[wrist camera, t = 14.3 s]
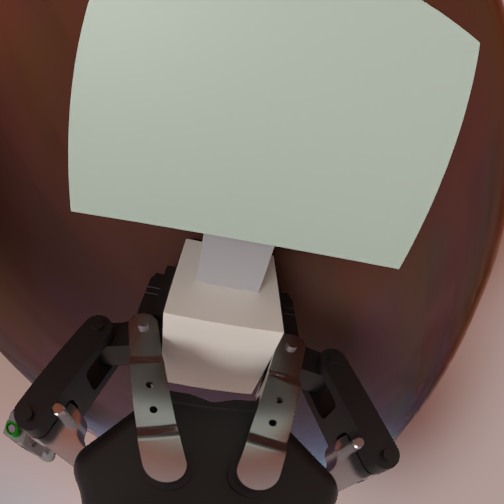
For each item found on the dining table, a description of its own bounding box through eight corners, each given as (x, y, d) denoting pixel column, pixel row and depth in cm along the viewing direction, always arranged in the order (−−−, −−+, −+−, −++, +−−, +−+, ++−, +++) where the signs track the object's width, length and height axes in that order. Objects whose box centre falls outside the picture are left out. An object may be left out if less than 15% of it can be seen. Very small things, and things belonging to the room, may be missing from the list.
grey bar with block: (238, 5, 8) (232, -43, 4) (344, 36, 8) (404, 14, 4) (176, 322, 17) (162, 391, 13) (245, 334, 18) (245, 403, 13)
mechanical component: (55, 397, 27) (36, 457, 19) (29, 355, 22) (-2, 429, 13) (73, 404, 27) (56, 467, 19) (49, 364, 22) (20, 442, 14)
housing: (174, 1, 8) (110, -57, 2) (379, 49, 9) (480, 43, 4) (146, 148, 12) (70, 211, 6) (338, 185, 13) (398, 269, 7)
